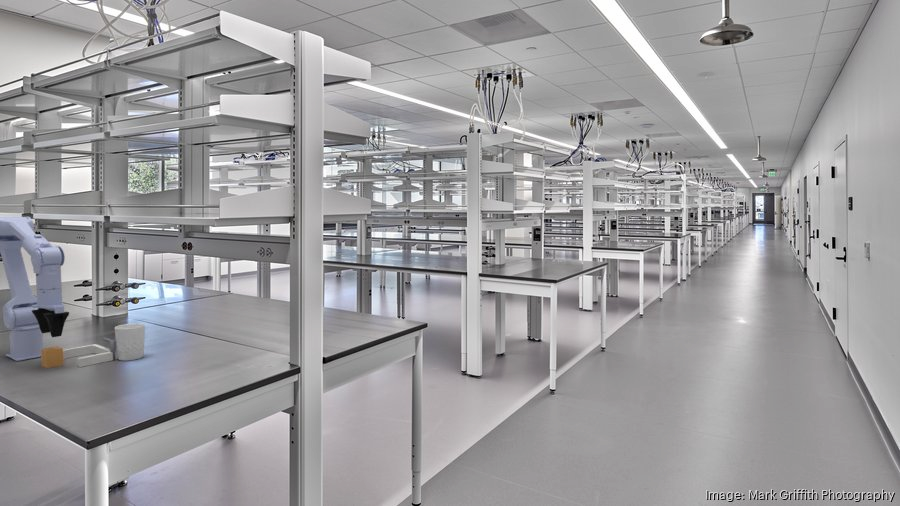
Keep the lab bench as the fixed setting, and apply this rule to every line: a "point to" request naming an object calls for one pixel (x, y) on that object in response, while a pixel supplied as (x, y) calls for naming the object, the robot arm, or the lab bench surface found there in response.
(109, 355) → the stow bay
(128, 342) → the white cup
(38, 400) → the lab bench surface
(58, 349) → the tan wooden cube
